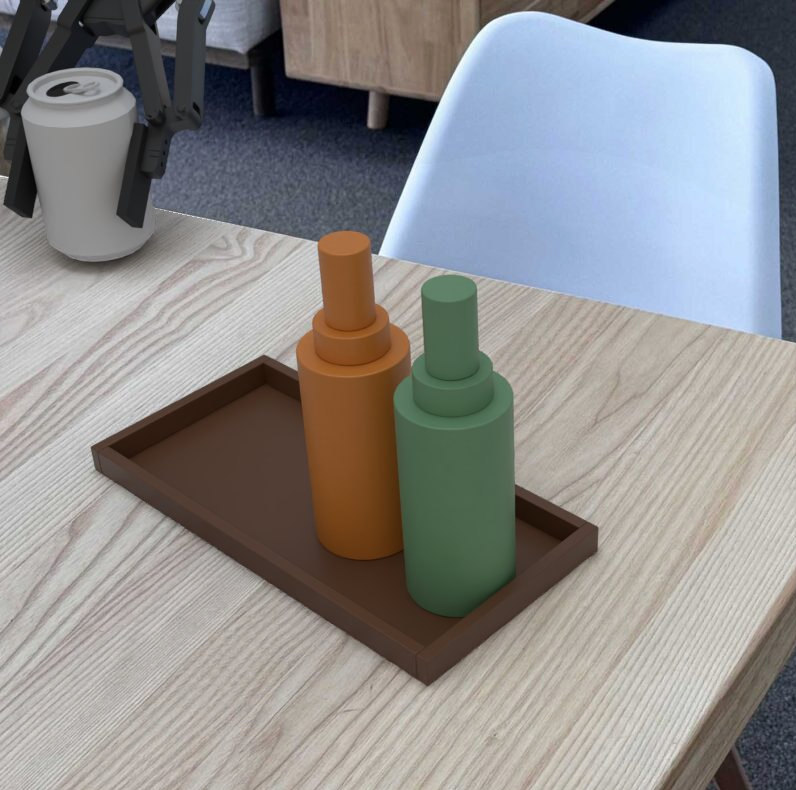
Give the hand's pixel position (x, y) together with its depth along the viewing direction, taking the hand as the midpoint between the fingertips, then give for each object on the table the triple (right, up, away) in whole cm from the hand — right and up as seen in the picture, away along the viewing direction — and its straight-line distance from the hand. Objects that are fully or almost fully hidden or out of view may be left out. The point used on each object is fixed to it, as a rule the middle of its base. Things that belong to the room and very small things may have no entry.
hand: (73, 216), depth 95 cm
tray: (+20, -19, -21) cm, 35 cm away
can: (+1, -1, +5) cm, 5 cm away
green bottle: (+27, -21, -26) cm, 43 cm away
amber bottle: (+22, -19, -22) cm, 37 cm away
